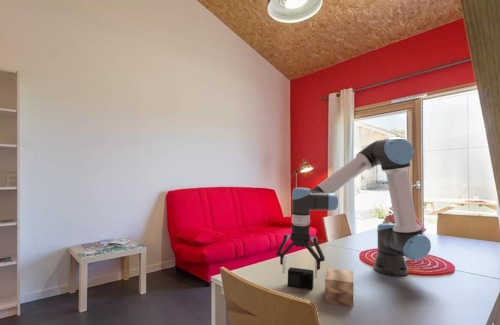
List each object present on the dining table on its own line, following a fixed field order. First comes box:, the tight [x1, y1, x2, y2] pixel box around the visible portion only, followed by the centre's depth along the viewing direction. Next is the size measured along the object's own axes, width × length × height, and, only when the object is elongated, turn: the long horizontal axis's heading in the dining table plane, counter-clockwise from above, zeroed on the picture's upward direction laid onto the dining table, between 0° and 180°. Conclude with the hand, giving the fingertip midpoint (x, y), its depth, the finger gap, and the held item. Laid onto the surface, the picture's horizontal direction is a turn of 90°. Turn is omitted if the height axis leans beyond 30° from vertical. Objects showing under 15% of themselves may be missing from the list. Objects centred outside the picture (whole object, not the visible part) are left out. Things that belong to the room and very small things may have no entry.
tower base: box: [324, 290, 354, 307], centre depth 112 cm, size 10×12×4 cm
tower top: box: [324, 268, 354, 296], centre depth 112 cm, size 10×12×4 cm
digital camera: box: [287, 266, 315, 291], centre depth 121 cm, size 10×5×7 cm, turn 70°
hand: (299, 274), depth 121 cm, fingers open, 13 cm apart
